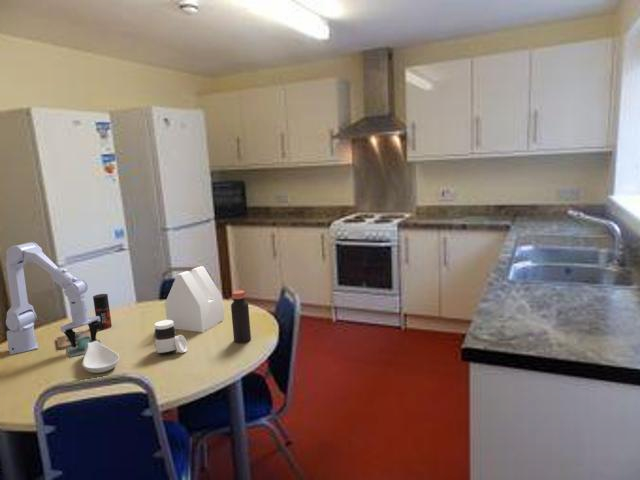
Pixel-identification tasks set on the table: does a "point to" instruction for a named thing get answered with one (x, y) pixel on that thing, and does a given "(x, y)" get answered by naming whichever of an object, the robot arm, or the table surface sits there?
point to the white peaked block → (194, 301)
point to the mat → (76, 351)
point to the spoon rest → (99, 358)
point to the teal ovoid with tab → (82, 342)
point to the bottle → (240, 317)
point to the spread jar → (168, 339)
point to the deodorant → (102, 311)
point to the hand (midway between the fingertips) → (83, 343)
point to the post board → (64, 341)
